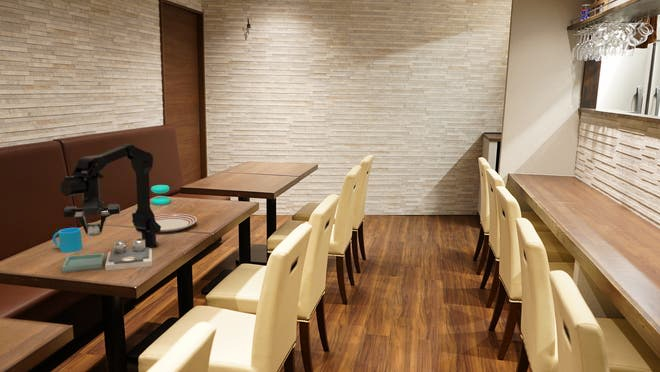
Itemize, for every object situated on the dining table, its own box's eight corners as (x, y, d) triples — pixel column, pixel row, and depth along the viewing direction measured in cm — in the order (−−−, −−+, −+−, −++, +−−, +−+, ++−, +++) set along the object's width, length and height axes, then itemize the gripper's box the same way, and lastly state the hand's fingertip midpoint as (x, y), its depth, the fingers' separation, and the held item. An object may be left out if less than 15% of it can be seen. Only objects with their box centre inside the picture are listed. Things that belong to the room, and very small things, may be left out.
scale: (108, 257, 209) (108, 248, 208) (152, 253, 213) (151, 245, 213) (105, 271, 193) (104, 262, 192) (152, 266, 198) (151, 257, 197)
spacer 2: (114, 250, 208) (113, 240, 207) (126, 249, 209) (126, 239, 208) (113, 254, 203) (112, 244, 203) (126, 253, 205) (125, 243, 204)
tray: (67, 261, 204) (67, 256, 203) (104, 257, 208) (104, 253, 207) (62, 272, 192) (62, 267, 191) (101, 268, 196) (101, 263, 195)
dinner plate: (175, 237, 236) (174, 230, 235) (123, 232, 245) (123, 225, 244) (208, 222, 261) (208, 216, 261) (160, 218, 270) (160, 211, 269)
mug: (86, 247, 221) (85, 228, 220) (74, 253, 213) (72, 233, 212) (60, 245, 223) (58, 226, 222) (47, 251, 215) (45, 232, 214)
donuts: (155, 188, 293) (148, 185, 301) (156, 206, 295) (149, 203, 302) (172, 186, 299) (165, 183, 307) (173, 203, 301) (166, 200, 309)
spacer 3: (133, 249, 210) (132, 239, 209) (145, 248, 211) (145, 238, 210) (133, 252, 206) (132, 242, 205) (145, 251, 207) (144, 241, 206)
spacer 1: (88, 233, 199) (87, 222, 198) (101, 232, 200) (100, 222, 200) (87, 236, 195) (86, 225, 194) (100, 235, 196) (99, 224, 196)
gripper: (59, 197, 184) (63, 240, 187) (117, 194, 190) (120, 236, 193) (63, 191, 195) (67, 232, 197) (118, 188, 201) (121, 229, 204)
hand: (93, 232), depth 198 cm, fingers closed on spacer 1, 4 cm apart
